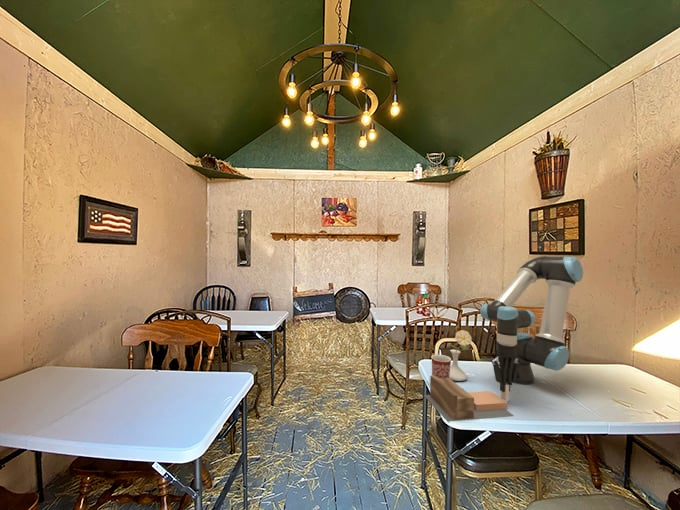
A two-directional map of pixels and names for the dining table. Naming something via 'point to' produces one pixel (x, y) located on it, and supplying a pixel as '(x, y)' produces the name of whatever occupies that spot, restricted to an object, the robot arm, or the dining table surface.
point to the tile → (487, 401)
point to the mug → (441, 366)
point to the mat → (476, 413)
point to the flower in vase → (463, 340)
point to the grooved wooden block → (451, 398)
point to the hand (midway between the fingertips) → (504, 398)
